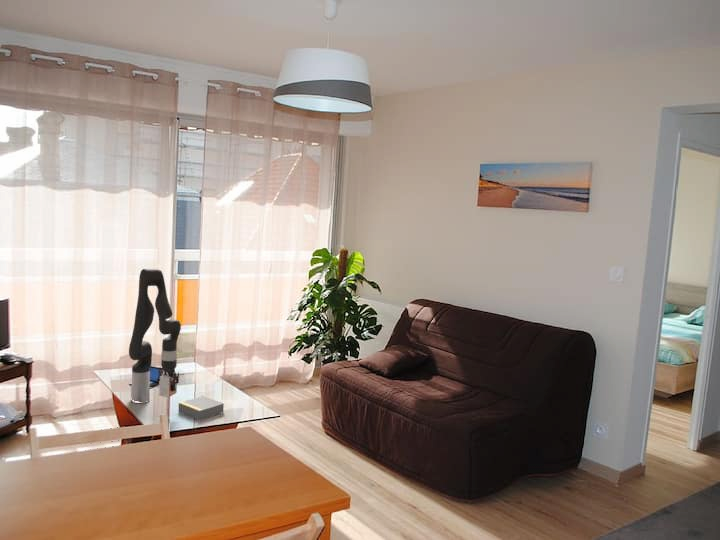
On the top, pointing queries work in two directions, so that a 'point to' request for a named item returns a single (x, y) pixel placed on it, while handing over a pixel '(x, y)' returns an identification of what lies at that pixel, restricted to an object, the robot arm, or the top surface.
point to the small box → (166, 386)
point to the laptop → (154, 376)
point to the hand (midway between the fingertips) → (168, 389)
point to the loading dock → (200, 407)
